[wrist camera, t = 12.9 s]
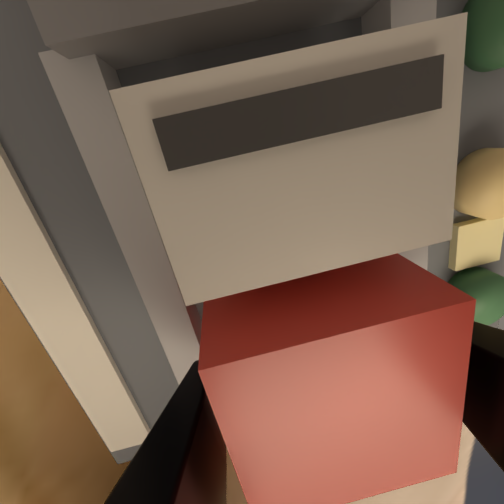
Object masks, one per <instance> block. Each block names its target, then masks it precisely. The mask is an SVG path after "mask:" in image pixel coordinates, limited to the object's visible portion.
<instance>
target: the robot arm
mask: <svg viewBox="0 0 504 504" xmlns="http://www.w3.org/2000/svg"><path fill="white" fill-rule="evenodd" d="M198 364H199V360H196V361H195V362H193V364H192V365H191V367H190V368H189V370H188V372H187V373H186V375H185V376H184V378H183V380H182V381H181V383H180V384H179V386H178V387H177V389H176V391H175V392H174V394H173V395H172V397H171V398H170V400H169V402H168V403H167V405H166V406H165V408H164V410H163V411H162V413H161V414H160V416H159V417H158V419H157V421H156V422H155V424H154V425H153V427H152V429H151V430H150V432H149V433H148V435H147V436H146V438H145V440H144V441H143V443H142V444H141V446H140V447H139V449H138V451H137V452H136V454H135V455H134V457H133V459H132V460H131V462H130V463H129V465H128V466H127V468H126V470H125V471H124V473H123V474H122V476H121V477H120V479H119V481H118V482H117V484H116V485H115V487H114V489H113V490H112V492H111V493H110V495H109V496H108V498H107V500H106V501H105V503H104V504H226V467H227V464H226V445H225V442H224V439H223V437H222V434H221V431H220V429H219V426H218V423H217V421H216V418H215V415H214V413H213V410H212V407H211V405H210V402H209V399H208V397H207V394H206V391H205V389H204V386H203V383H202V380H201V378H200V375H199V372H198ZM462 422H463V423H464V424H465V425H466V426H467V428H468V429H469V430H470V431H471V433H472V434H473V435H474V436H475V437H476V439H477V440H478V441H479V442H480V443H481V445H482V446H483V447H484V448H485V450H486V451H487V452H488V453H489V454H490V456H491V457H492V458H493V459H494V461H495V462H496V463H497V464H498V465H499V467H500V468H501V469H502V470H503V471H504V330H501V329H498V328H495V327H491V326H488V325H485V324H482V323H479V322H475V321H474V323H473V332H472V341H471V350H470V358H469V367H468V376H467V385H466V394H465V402H464V411H463V420H462Z"/></svg>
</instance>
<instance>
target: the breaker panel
mask: <svg viewBox="0 0 504 504" xmlns="http://www.w3.org/2000/svg"><path fill="white" fill-rule="evenodd" d="M465 12H468V14H467V29H466V43H465V57H464V72H463V86H462V101H461V115H460V129H459V144H458V158H457V173H456V187H455V201H454V216H453V230H452V240H449V241H445V242H441V243H437V244H433V245H429V246H425V247H421V248H417V249H413V250H409V251H405V252H401V253H398V254H400V255H401V256H403V257H405V258H406V259H408V260H410V261H412V262H413V263H415V264H417V265H418V266H420V267H422V268H424V269H425V270H427V271H429V272H430V273H432V274H434V275H436V276H437V277H439V278H441V279H442V280H444V281H446V282H447V283H449V284H451V285H453V286H454V287H456V288H458V289H459V290H461V291H463V292H465V293H466V294H468V295H470V296H471V297H473V298H475V299H476V306H475V315H474V321H475V322H479V323H482V324H485V325H488V326H491V327H495V328H498V325H499V319H500V318H501V317H502V316H503V315H504V0H0V279H1V281H2V282H3V284H4V285H5V287H6V288H7V290H8V292H9V293H10V295H11V296H12V298H13V300H14V301H15V303H16V304H17V306H18V307H19V309H20V311H21V312H22V314H23V315H24V317H25V318H26V320H27V322H28V323H29V325H30V326H31V328H32V330H33V331H34V333H35V334H36V336H37V337H38V339H39V341H40V342H41V344H42V345H43V347H44V348H45V350H46V352H47V353H48V355H49V356H50V358H51V360H52V361H53V363H54V364H55V366H56V367H57V369H58V371H59V372H60V374H61V375H62V377H63V378H64V380H65V382H66V383H67V385H68V386H69V388H70V390H71V391H72V393H73V394H74V396H75V397H76V399H77V401H78V402H79V404H80V405H81V407H82V409H83V410H84V412H85V413H86V415H87V416H88V418H89V420H90V421H91V423H92V424H93V426H94V427H95V429H96V431H97V432H98V434H99V435H100V437H101V439H102V440H103V442H104V443H105V445H106V446H107V448H108V450H109V451H110V453H111V454H112V456H113V457H114V459H115V461H116V462H117V464H120V463H124V462H128V461H131V460H132V459H133V457H134V455H135V454H136V452H137V451H138V449H139V447H140V446H141V444H142V443H143V441H144V440H145V438H146V436H147V435H148V433H149V432H150V430H151V429H152V427H153V425H154V424H155V422H156V421H157V419H158V417H159V416H160V414H161V413H162V411H163V410H164V408H165V406H166V405H167V403H168V402H169V400H170V398H171V397H172V395H173V394H174V392H175V391H176V389H177V387H178V386H179V384H180V383H181V381H182V380H183V378H184V376H185V375H186V373H187V372H188V370H189V368H190V367H191V365H192V364H193V362H195V361H196V360H199V352H200V339H201V327H202V315H203V303H204V302H201V303H197V304H193V305H189V306H186V305H185V302H184V299H183V297H182V294H181V291H180V288H179V285H178V283H177V280H176V277H175V274H174V271H173V269H172V266H171V263H170V260H169V257H168V255H167V252H166V249H165V246H164V244H163V241H162V238H161V235H160V232H159V230H158V227H157V224H156V221H155V218H154V216H153V213H152V210H151V207H150V204H149V202H148V199H147V196H146V193H145V190H144V188H143V185H142V182H141V179H140V176H139V174H138V171H137V168H136V165H135V162H134V160H133V157H132V154H131V151H130V149H129V146H128V143H127V140H126V137H125V135H124V132H123V129H122V126H121V123H120V121H119V118H118V115H117V112H116V109H115V107H114V104H113V101H112V98H111V95H110V93H109V90H113V89H118V88H123V87H127V86H132V85H136V84H141V83H145V82H150V81H155V80H159V79H164V78H168V77H173V76H177V75H182V74H187V73H191V72H196V71H200V70H205V69H209V68H214V67H218V66H223V65H228V64H232V63H237V62H241V61H246V60H250V59H255V58H260V57H264V56H269V55H273V54H278V53H282V52H287V51H292V50H296V49H301V48H305V47H310V46H314V45H319V44H324V43H328V42H333V41H337V40H342V39H346V38H351V37H356V36H360V35H365V34H369V33H374V32H378V31H383V30H388V29H392V28H397V27H401V26H406V25H410V24H415V23H420V22H424V21H429V20H433V19H438V18H442V17H447V16H452V15H456V14H461V13H465Z"/></svg>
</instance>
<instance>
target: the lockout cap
mask: <svg viewBox="0 0 504 504" xmlns="http://www.w3.org/2000/svg"><path fill="white" fill-rule="evenodd" d="M475 306H476V299H475V298H473V297H471V296H470V295H468V294H466V293H465V292H463V291H461V290H459V289H458V288H456V287H454V286H453V285H451V284H449V283H447V282H446V281H444V280H442V279H441V278H439V277H437V276H436V275H434V274H432V273H430V272H429V271H427V270H425V269H424V268H422V267H420V266H418V265H417V264H415V263H413V262H412V261H410V260H408V259H406V258H405V257H403V256H401V255H400V254H398V253H397V254H393V255H389V256H385V257H381V258H377V259H373V260H369V261H365V262H361V263H357V264H353V265H349V266H345V267H341V268H337V269H333V270H329V271H325V272H321V273H317V274H313V275H309V276H305V277H301V278H297V279H293V280H289V281H285V282H281V283H277V284H273V285H269V286H265V287H261V288H257V289H253V290H249V291H245V292H241V293H237V294H233V295H229V296H225V297H221V298H217V299H213V300H209V301H205V302H204V303H203V315H202V327H201V339H200V352H199V364H198V372H199V375H200V378H201V380H202V383H203V386H204V389H205V391H206V394H207V397H208V399H209V402H210V405H211V407H212V410H213V413H214V415H215V418H216V421H217V423H218V426H219V429H220V431H221V434H222V437H223V439H224V442H225V445H226V447H227V450H228V453H229V455H230V458H231V461H232V463H233V466H234V469H235V471H236V474H237V477H238V479H239V482H240V485H241V487H242V490H243V493H244V495H245V498H246V501H247V503H248V504H346V503H350V502H353V501H357V500H360V499H364V498H367V497H371V496H375V495H378V494H382V493H385V492H389V491H392V490H396V489H399V488H403V487H407V486H410V485H414V484H417V483H421V482H424V481H428V480H431V479H435V478H439V477H442V476H446V475H449V474H453V473H456V472H457V464H458V455H459V446H460V438H461V429H462V420H463V411H464V402H465V394H466V385H467V376H468V367H469V358H470V350H471V341H472V332H473V323H474V315H475Z"/></svg>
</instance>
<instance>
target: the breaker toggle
mask: <svg viewBox="0 0 504 504" xmlns="http://www.w3.org/2000/svg"><path fill="white" fill-rule="evenodd" d="M467 14H468V12H465V13H461V14H456V15H452V16H447V17H442V18H438V19H433V20H429V21H424V22H420V23H415V24H410V25H406V26H401V27H397V28H392V29H388V30H383V31H378V32H374V33H369V34H365V35H360V36H356V37H351V38H346V39H342V40H337V41H333V42H328V43H324V44H319V45H314V46H310V47H305V48H301V49H296V50H292V51H287V52H282V53H278V54H273V55H269V56H264V57H260V58H255V59H250V60H246V61H241V62H237V63H232V64H228V65H223V66H218V67H214V68H209V69H205V70H200V71H196V72H191V73H187V74H182V75H177V76H173V77H168V78H164V79H159V80H155V81H150V82H145V83H141V84H136V85H132V86H127V87H123V88H118V89H113V90H109V93H110V95H111V98H112V101H113V104H114V107H115V109H116V112H117V115H118V118H119V121H120V123H121V126H122V129H123V132H124V135H125V137H126V140H127V143H128V146H129V149H130V151H131V154H132V157H133V160H134V162H135V165H136V168H137V171H138V174H139V176H140V179H141V182H142V185H143V188H144V190H145V193H146V196H147V199H148V202H149V204H150V207H151V210H152V213H153V216H154V218H155V221H156V224H157V227H158V230H159V232H160V235H161V238H162V241H163V244H164V246H165V249H166V252H167V255H168V257H169V260H170V263H171V266H172V269H173V271H174V274H175V277H176V280H177V283H178V285H179V288H180V291H181V294H182V297H183V299H184V302H185V305H186V306H189V305H193V304H197V303H201V302H205V301H209V300H213V299H217V298H221V297H225V296H229V295H233V294H237V293H241V292H245V291H249V290H253V289H257V288H261V287H265V286H269V285H273V284H277V283H281V282H285V281H289V280H293V279H297V278H301V277H305V276H309V275H313V274H317V273H321V272H325V271H329V270H333V269H337V268H341V267H345V266H349V265H353V264H357V263H361V262H365V261H369V260H373V259H377V258H381V257H385V256H389V255H393V254H397V253H401V252H405V251H409V250H413V249H417V248H421V247H425V246H429V245H433V244H437V243H441V242H445V241H449V240H452V230H453V216H454V201H455V187H456V173H457V158H458V144H459V129H460V115H461V101H462V86H463V72H464V57H465V43H466V29H467Z"/></svg>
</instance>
